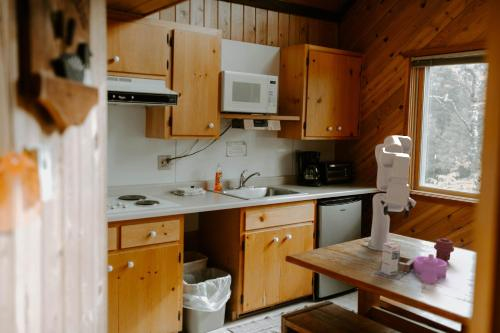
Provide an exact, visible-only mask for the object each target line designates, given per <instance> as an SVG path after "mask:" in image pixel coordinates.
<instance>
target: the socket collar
mask: <svg viewBox="0 0 500 333" xmlns="http://www.w3.org/2000/svg"><path fill="white" fill-rule="evenodd" d="M414 258H415V257H414ZM414 258H413V257H408V256H404V255H400V258H399V269H398V271H400V272H401V271H402V272H404V273H405V272H406V274H409V273H410V272H411V271H413V264H414ZM380 265H381V266H380V267H381V268H382V262H381V264H380Z"/></svg>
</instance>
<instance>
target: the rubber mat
mask: <svg viewBox="0 0 500 333" xmlns="http://www.w3.org/2000/svg"><path fill="white" fill-rule="evenodd" d="M381 269H382V267H381V268H379V269H378V270H376V271H375V272H373V275H377V276H380V277H384V276H386V277H385V278H388V277H389V279H392V278H394V280H397V279H398V281H400V280H401V279H402V278H403V277H404V276H406V274H407V273H405V272H401V271H398V274H394V275H388V274H385V273H383V272H382V271H381ZM403 275H404V276H403ZM402 276H403V277H402ZM401 277H402V278H401ZM400 278H401V279H400ZM399 279H400V280H399Z"/></svg>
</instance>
